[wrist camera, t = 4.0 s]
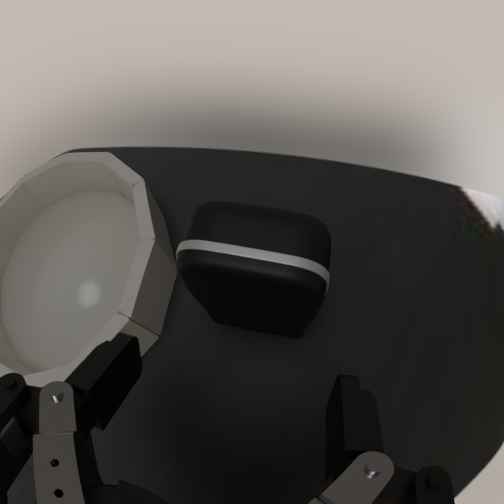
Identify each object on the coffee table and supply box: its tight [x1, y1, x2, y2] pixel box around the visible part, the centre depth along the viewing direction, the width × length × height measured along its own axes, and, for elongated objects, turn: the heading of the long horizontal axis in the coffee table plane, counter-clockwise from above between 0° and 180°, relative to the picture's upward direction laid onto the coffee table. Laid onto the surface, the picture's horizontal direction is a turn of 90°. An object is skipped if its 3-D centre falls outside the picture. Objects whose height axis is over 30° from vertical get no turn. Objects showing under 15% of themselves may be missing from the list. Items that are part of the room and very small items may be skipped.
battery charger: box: [175, 201, 331, 338], centre depth 18 cm, size 7×4×11 cm, turn 78°
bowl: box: [0, 152, 177, 388], centre depth 22 cm, size 20×20×6 cm
